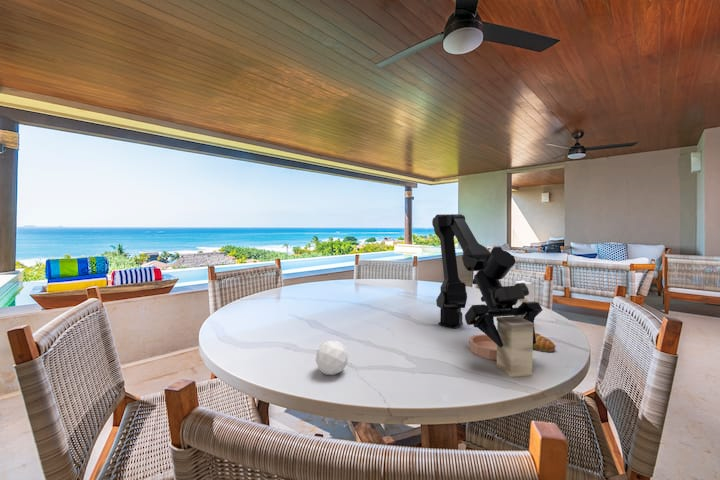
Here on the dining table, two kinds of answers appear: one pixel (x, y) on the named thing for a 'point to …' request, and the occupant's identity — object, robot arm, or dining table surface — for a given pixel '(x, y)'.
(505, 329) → the lidded square box
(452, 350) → the dining table surface
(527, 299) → the beer glass
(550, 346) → the pastry
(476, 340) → the terracotta bowl
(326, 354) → the geometric ball
